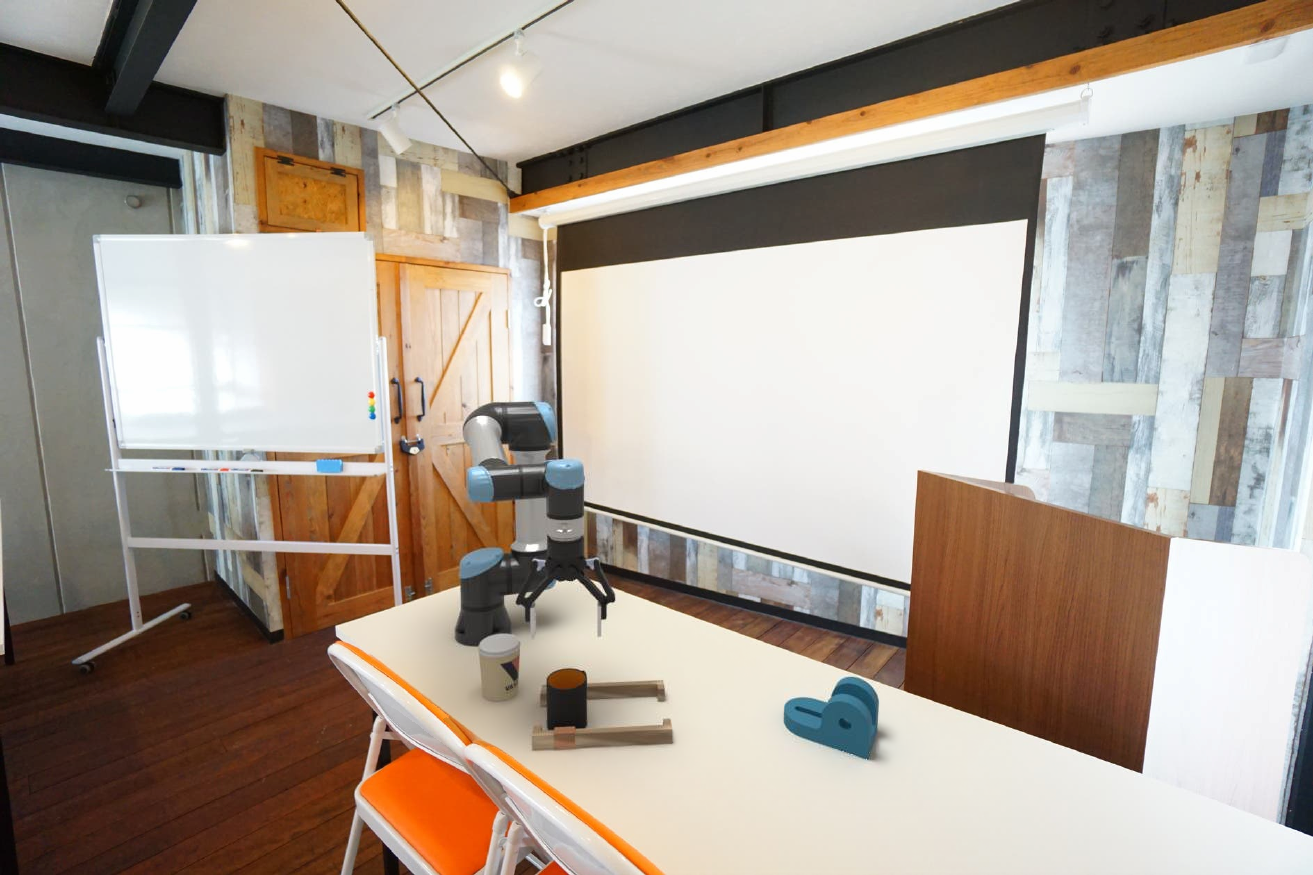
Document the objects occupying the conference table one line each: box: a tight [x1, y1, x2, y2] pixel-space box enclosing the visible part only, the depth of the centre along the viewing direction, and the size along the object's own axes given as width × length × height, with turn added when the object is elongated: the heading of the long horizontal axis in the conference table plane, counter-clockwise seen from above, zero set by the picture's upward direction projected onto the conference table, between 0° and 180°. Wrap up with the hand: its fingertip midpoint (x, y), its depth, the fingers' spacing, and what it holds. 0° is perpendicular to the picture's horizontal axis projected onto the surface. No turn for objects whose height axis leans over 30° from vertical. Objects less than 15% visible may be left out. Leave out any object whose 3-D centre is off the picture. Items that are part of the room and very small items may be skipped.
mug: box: [545, 667, 588, 730], centre depth 120 cm, size 8×12×10 cm
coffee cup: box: [477, 633, 521, 702], centre depth 130 cm, size 9×9×12 cm
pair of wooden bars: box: [531, 679, 673, 751], centre depth 121 cm, size 18×28×3 cm
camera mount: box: [783, 676, 880, 761], centre depth 117 cm, size 18×10×10 cm, turn 59°
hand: (566, 634), depth 119 cm, fingers open, 13 cm apart
